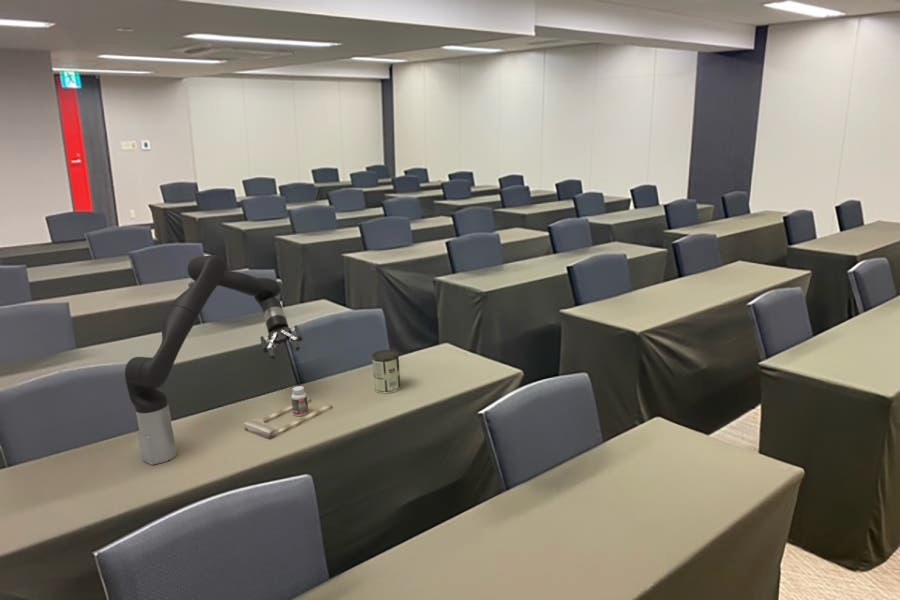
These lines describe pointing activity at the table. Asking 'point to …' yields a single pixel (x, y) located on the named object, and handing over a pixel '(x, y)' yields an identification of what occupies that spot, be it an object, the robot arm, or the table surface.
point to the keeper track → (271, 431)
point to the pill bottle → (299, 401)
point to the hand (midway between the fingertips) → (285, 353)
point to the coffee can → (386, 371)
